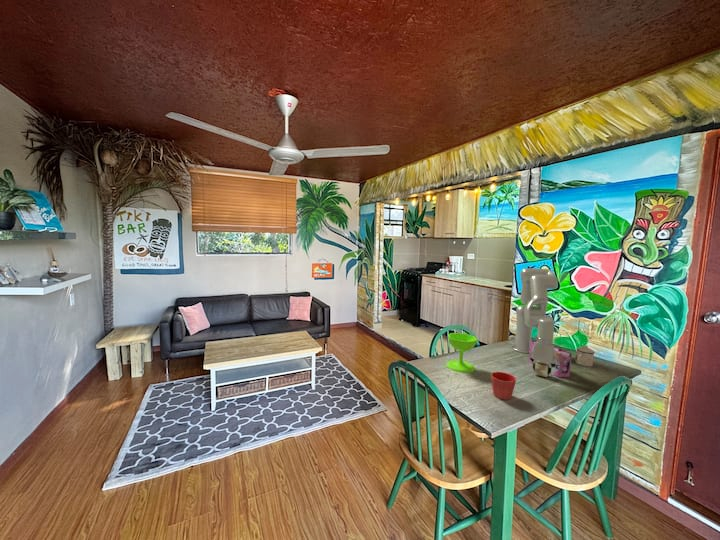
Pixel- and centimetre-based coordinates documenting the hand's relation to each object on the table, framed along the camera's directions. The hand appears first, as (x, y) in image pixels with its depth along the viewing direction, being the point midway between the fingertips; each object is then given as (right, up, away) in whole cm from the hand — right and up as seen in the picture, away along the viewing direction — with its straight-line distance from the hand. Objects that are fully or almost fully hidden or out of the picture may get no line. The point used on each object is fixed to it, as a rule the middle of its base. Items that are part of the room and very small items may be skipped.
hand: (541, 371), depth 165 cm
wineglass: (-43, 0, +9) cm, 44 cm away
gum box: (+10, -2, +10) cm, 14 cm away
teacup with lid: (+37, -2, +19) cm, 42 cm away
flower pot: (-34, -3, -24) cm, 42 cm away
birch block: (0, -1, 0) cm, 1 cm away
